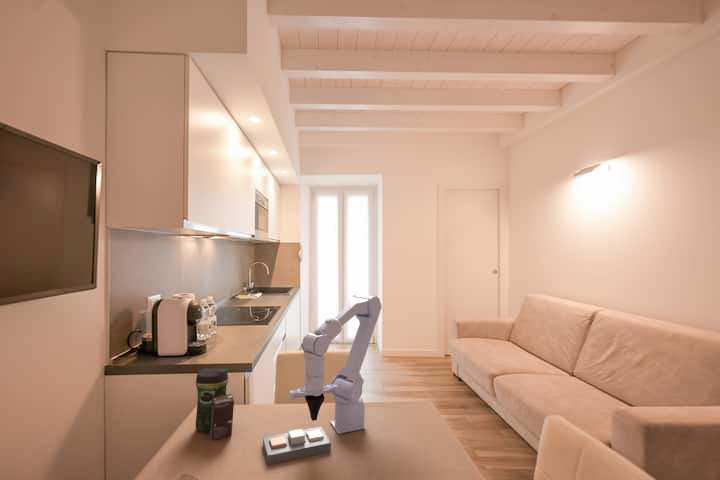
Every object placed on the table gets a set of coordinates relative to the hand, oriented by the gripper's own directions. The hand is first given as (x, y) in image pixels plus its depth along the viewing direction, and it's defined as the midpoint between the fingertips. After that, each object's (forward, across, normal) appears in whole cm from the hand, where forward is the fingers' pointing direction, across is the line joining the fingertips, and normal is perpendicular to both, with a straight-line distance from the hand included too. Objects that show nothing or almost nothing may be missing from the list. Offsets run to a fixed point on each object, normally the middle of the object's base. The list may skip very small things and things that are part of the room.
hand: (313, 418), depth 112 cm
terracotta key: (+7, -11, -1) cm, 13 cm away
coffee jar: (+7, -28, +21) cm, 36 cm away
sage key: (+6, -5, -1) cm, 8 cm away
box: (+7, -26, +15) cm, 30 cm away
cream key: (+7, 0, -1) cm, 7 cm away
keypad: (+8, -5, 0) cm, 9 cm away
